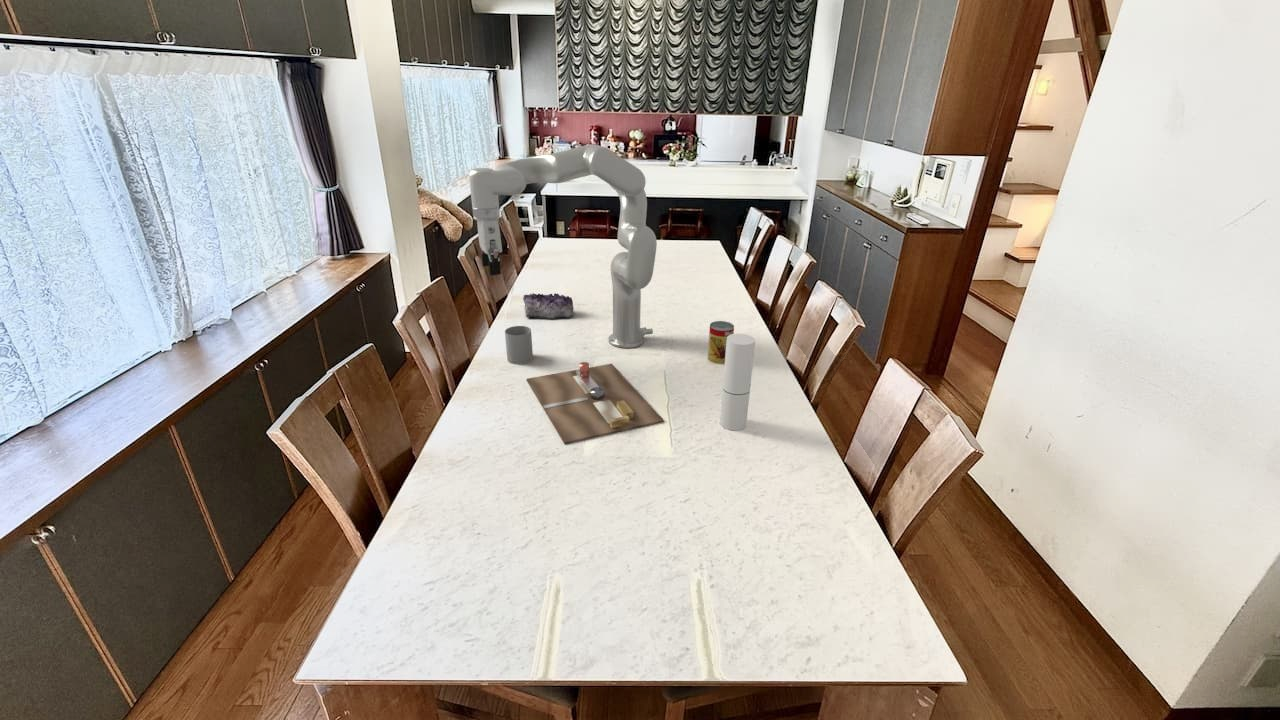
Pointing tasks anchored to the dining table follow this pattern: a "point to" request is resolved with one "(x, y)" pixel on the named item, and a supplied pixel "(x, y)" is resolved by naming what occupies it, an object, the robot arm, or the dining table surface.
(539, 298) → the geode
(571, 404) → the board
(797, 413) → the dining table surface
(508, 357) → the cup
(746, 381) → the cylindrical container
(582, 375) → the arm
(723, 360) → the canned food
